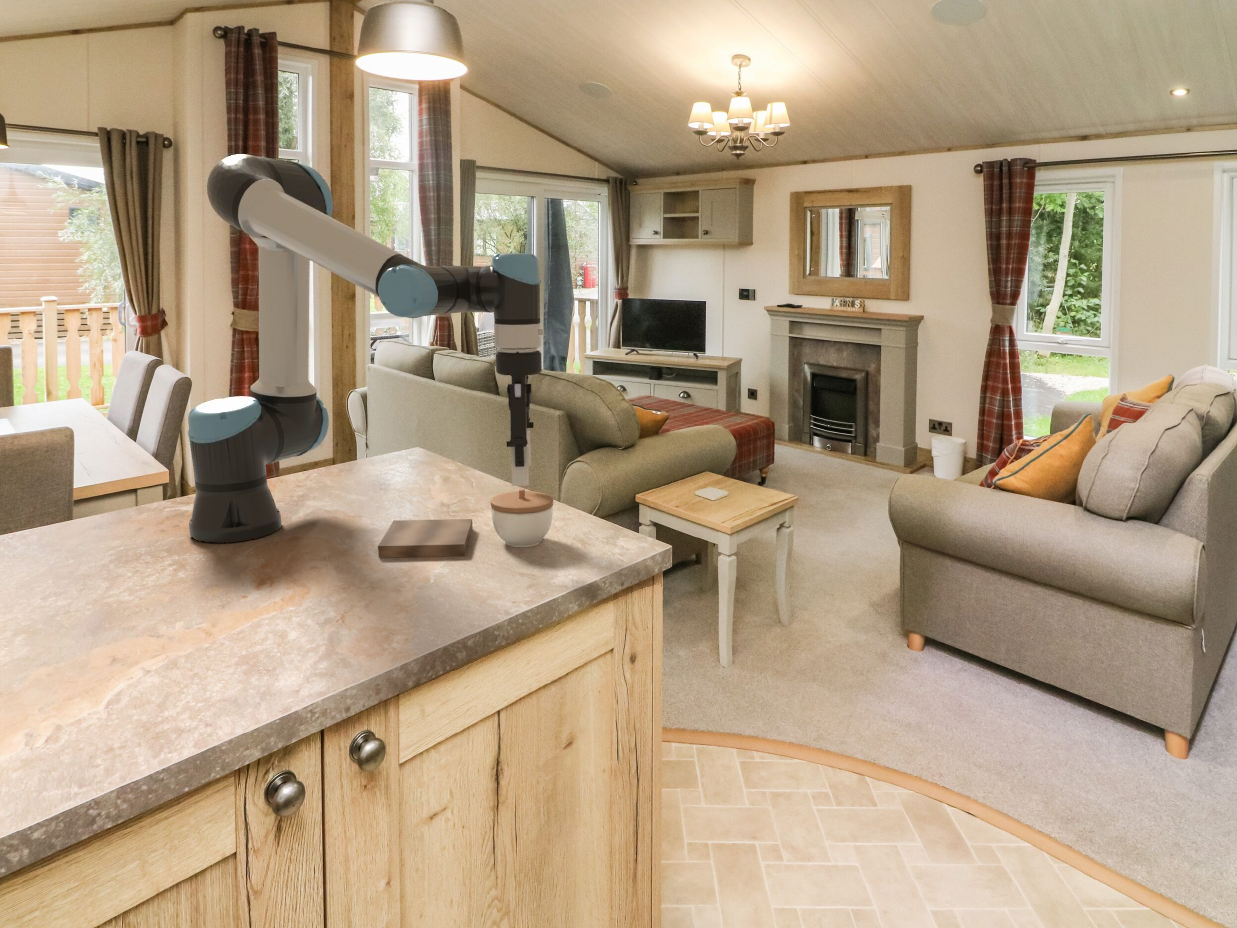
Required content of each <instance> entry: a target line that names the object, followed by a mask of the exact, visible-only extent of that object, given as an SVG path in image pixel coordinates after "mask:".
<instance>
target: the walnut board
mask: <svg viewBox="0 0 1237 928" xmlns="http://www.w3.org/2000/svg"><path fill="white" fill-rule="evenodd" d="M473 528H474V526H473V518H456V519H452V518H451V519H450V518H449V519H447V518H446V519H444V518H443V519H406V520H405V519H400V520H399V519H398V520H396V519H395V520H393V521H392V522H391V524H390V525H389V527H388V529H387V530H386V532H385V533H384V535H383V537H382V538H381V540H380V542H379V543H378V545H377V552H378V558H379V559H380V558H422V557H425V558H426V557H427V558H428V557H461V556H462V557H465V556H466V553H467V549H468V547H469V543H470V540H471V537H472V533H473V530H474V529H473Z"/></svg>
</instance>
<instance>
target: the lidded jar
mask: <svg viewBox="0 0 1237 928" xmlns="http://www.w3.org/2000/svg"><path fill="white" fill-rule="evenodd" d="M553 506H554V498H553V497H552V496H551V495H550V494H548V493H544V492H540V491H534V490H533V491H532V490H531V491H529V490H526V489H525V488H524V489H523V488H521V489H518V490H517V491H509V492H503V493H500V494H496V495H495V496H493V497H492V498H491V499H490V507H491V509H490V510H491V519H492V524H493V528H494V530H495V532H496V534H497V535H498V536H499V538H500V539H501V540H502V541H504V543H505V544H506V545H507V546H508V547H512V548H519V549H521V548H530V547H531V548H532V547H535V546H537V545H539V544H541V541H542V539H544V538H545V537H546V536H547V534H548V533H549V531H550V529H551V526H552V522H553V521H552V520H553V515H554V514H553V513H554V512H553V510H554V507H553Z"/></svg>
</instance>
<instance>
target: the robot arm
mask: <svg viewBox="0 0 1237 928" xmlns="http://www.w3.org/2000/svg"><path fill="white" fill-rule="evenodd" d="M206 194H207V198H208V201H209V203H210V205H211V207H212V209H213V211H214V212H215V213H216V214H217V215H218V217H219V218H220V219H222V221H225V223H227V224H229V225H231V226H232V227H234V228H236V229H237V230H239V231H242V232H243V233H245V234H247V235H249V238H250V239H251V241H253V242H254V243H255V245H256V246H257V247H258V369H259V370H258V376H259V377H258V379H257V380H256V381H255V382H254V383H253V384H252V385H250V388H249V389H250V391H249V393H250V394H249V395H250V396H244V395H243V396H241V395H239V396H229V397H223V398H216V399H212V400H209V401H205V402H202V403H199V404H198V405H196V406H194V407H193V408H192V409H191V410H190V412H189V414H188V417H187V420H188V421H187V422H188V423H187V424H188V431H187V436H188V441H189V446H190V453H191V461H192V467H193V469H192V470H193V476H194V485H195V486H194V487H195V497H194V501H193V507H192V515H191V518H190V519H189V520H188V521H189V522H188V529H189V537H190V536H191V537H193V538H194V539H197V540H200V541H199V542H201V541H205V542H204V543H209V542H217V543H219V544H224V542H225V544H227V543H236V542H237V541H238V542H243V541H249V540H250V541H251V540H255V539H258V538H262V537H265V536H268V535H271V534H273V533H275V532H277V531H278V530H279V529H281V528H282V525H283V524H282V515H281V512H280V509H279V508H278V507H277V504H276V502H275V499H274V497H273V495H272V493H271V490H270V487H269V486H268V480H267V479H268V477H267V467H266V465H269V464H272V463H276V462H279V461H283V460H286V459H291V458H296V457H300V456H303V455H305V454H307V453H308V452H311V451H313V450H315V449H316V448H318V447H319V446H321V444H322V443H323V442H324V440H325V438H326V437H327V435H328V430H329V424H330V420H329V418H330V417H329V414H328V413H329V412H328V410H327V408H326V407H324V402H323V400H321V399H320V397H319V396H317V394H318V393H317V387H316V386H314V385H313V384H312V383H311V381H309V354H310V353H309V351H310V350H309V348H310V347H309V346H310V343H309V342H310V341H309V340H310V338H309V337H310V336H309V335H310V276H311V275H310V269H311V268H310V265H311V262H312V263H315V264H316V265H317V266H320V267H321V268H324V269H325V270H327V271H328V272H329V271H330V272H331V273H333V274H335V275H337V276H339V277H340V278H342V279H344V280H345V281H348V282H349V283H351V284H353V285H356V286H357V287H359V288H360V289H363V290H364V291H367V292H368V293H370V294H371V295H374V296H376V297H377V298H379V301H380V303H381V304H382V305H383V307H384V308H385V310H386V311H387V312H388V313H389V314H391V315H393V316H394V317H395V316H396V317H399V318H408V319H417V318H421V317H422V318H423V317H427V316H428V317H429V316H436V315H449V314H459V313H493V318H494V319H493V320H494V323H493V328H494V329H493V331H494V332H493V333H494V334H493V336H494V348H496V349H497V351H496V352H495V372H496V373H497V374H498V375H500V376H510V377H511V383H507V386H506V392H507V393H506V394H507V397H508V405H507V406H508V410H509V412H510V414H509V415H510V417H509V418H510V439H509V440H507V441H506V448H510V459H511V460H510V461H511V462H510V464H511V486H513V487H518V486H519V487H520V486H530V478H529V477H530V474H529V473H530V472H529V470H530V469H529V467H531V465H532V455H531V454H532V453H531V452H532V450H531V449H532V448H531V447H532V446H531V429H534V426H535V425H534V424H535V423H534V421H533V422H532V421H531V418H530V408H531V404H532V402H531V397H532V394H533V393H532V390H533V389H532V388H533V387H532V383H529V376H534V375H539V374H541V372H542V370H543V369H542V367H543V366H542V352H541V350H538V349H539V348H540V347H541V346H542V343H541V341H542V339H541V338H542V337H541V336H543V335H544V334H545V330H544V328H540V327H541V303H540V302H541V296H540V295H541V294H540V293H541V288H540V287H541V285H542V284H541V281H542V280H541V279H540V269H539V259H538V257H537V256H536V255H535V254H534V253H528V252H527V253H526V252H525V253H524V252H521V253H519V252H516V253H515V252H514V253H511V252H510V253H508V252H507V253H494V254H493V255H492V257H491V263H490V264H491V265H485V266H484V265H483V266H481V265H479V266H478V265H454V264H453V265H452V264H449V265H447V264H444V265H423V264H422V263H419V262H418V261H416V260H413V259H411V258H410V257H407V256H405V255H403V254H402V253H400V252H398V251H397V250H396V249H395V250H394V249H392V248H391V247H389V246H387V245H385V244H383V243H381V242H379V241H377V240H376V239H373V238H371V236H367V235H366V234H364V233H362V232H360V231H358V230H356V229H354V228H353V227H351V226H349V225H346V224H345V223H343V222H341V221H339V220H337V219H335V218H333V217H332V215H333V210H334V203H333V202H334V200H333V196H332V191H331V189H330V187H329V185H328V182H327V181H326V179H324V178H323V176H322V175H321V174H320V172H318V170H316V169H314V168H313V167H311V166H309V165H306V164H303V163H299V162H298V161H297V162H296V161H292V160H283V159H277V158H272V157H271V158H269V157H264V156H256V155H253V154H252V155H250V154H244V153H243V154H242V153H241V154H233V155H230V156H227V157H225V158H223V159H220V161H219V162H217V163H216V164H215V166H213V168H212V169H211V171H210V172H209V175H208V178H207V181H206ZM310 261H311V262H310ZM191 537H190V538H191ZM194 539H193V540H194ZM197 540H196V541H197ZM217 543H216V544H217Z"/></svg>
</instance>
